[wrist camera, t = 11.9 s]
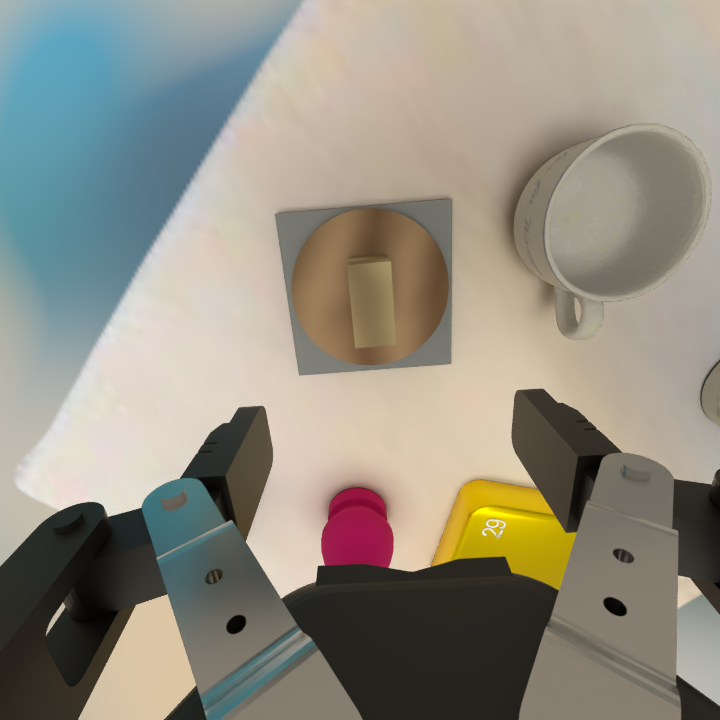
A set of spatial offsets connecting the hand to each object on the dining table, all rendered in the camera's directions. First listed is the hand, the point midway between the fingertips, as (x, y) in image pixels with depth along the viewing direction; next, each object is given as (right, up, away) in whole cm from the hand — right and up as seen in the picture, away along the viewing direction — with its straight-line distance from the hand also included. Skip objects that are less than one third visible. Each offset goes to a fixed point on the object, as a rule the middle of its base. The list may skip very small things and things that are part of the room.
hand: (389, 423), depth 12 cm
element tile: (+16, -18, +33) cm, 41 cm away
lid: (0, +8, +20) cm, 22 cm away
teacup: (+16, +12, +20) cm, 28 cm away
